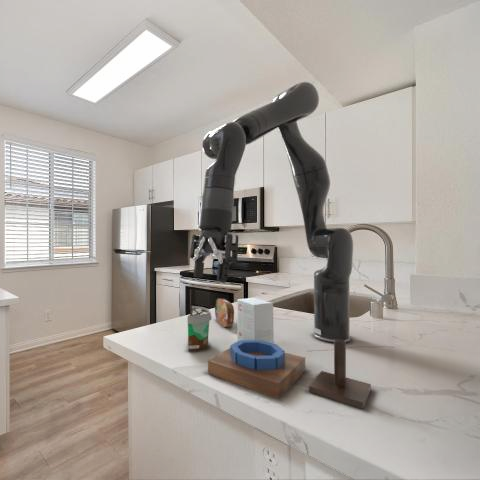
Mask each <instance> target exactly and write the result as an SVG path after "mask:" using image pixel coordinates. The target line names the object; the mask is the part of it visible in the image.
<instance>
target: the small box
mask: <svg viewBox="0 0 480 480" xmlns="http://www.w3.org/2000/svg"><path fill="white" fill-rule="evenodd" d="M236 304H237V305H236V306H237V307H236V308H237V309H236V310H237V311H236V312H237V314H236V315H237V317H236V318H237V323H236V324H237V325H236V327H237V329H236V330H237V331H236V332H237V342H238V341H241V340H257V341H259V340H260V341H264V342H269V343H273V344H275V343H274V337H275V336H274V334H275V333H274V302H271V301H268V300H263V299H261V298H257V297H249V298H248V297H247V298H237V299H236Z"/></svg>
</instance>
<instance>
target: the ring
mask: <svg viewBox="0 0 480 480" xmlns="http://www.w3.org/2000/svg"><path fill="white" fill-rule="evenodd" d="M229 348H230V356H231V358H232V359H233V361H234V362H235V363H237V364H238V365H241V366H244V367H247V368H250V369H254V370H255V369H257V370H276V369H279V368H280V367H281V366H282V365H283V364H284V363H285V353H286V351H285V350H284V349H283V348H282V347H280V346H279V345H278V344H276V343H274V344H273V343H269V342H264V341H260V340H259V341H257V340H241V341H238V340H237V341H236V342H234V343H232V344H231V345H230V347H229ZM244 352H260V353H263V354H267V355H271V356H255V355H251V354H247V353H244Z"/></svg>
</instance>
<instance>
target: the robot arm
mask: <svg viewBox="0 0 480 480" xmlns="http://www.w3.org/2000/svg"><path fill="white" fill-rule="evenodd" d="M319 103H320V96H319V92H318V90H317V88H316V87H315V85H314V84H313V83H311V82H309V81H301V82H299V83H296V84H294V85H292V86H291V87H288V88H287V89H285V90H284V91H282V92H280V93H278V94H276V95H275V96H274V98H273V100H272V102H269V103H267V104H265V105H263V106H262V105H261V106H260V107H258V108H255V109H253V110H251V111H249V112H247V113H244V114H243V115H241V116H239V117H237V118H236V119H233V121H230V122H227V123H225V124H222V125H221V126H220V125H219V127H217V128H214V129H212V130H210V131H208V132H207V133H206V134H205V136H204V137H203V138H202V139H203V140H202V143H201V146H202V151H203V153H204V155H205V156H206V157H208V158H210V159H212V160H214V162H213V163H211V164H210V165H209V166H208V167H207V168H206V170H205V174H204V182H203V189H202V196H201V200H200V208H199V218H198V228H199V230H201V232H200V234H192V237H191V243H190V251H189V259H192V260H193V261H194V267H193V277H194V278H199V279H201V278H203V277H204V269H205V260H206V258H207V257H208V256H210V255H211V254H213V255H214V256H215V257H216V258H217V261H218V264H217V274H216V281H217V282H219V283H226V282H227V280H228V278H229V271H230V265H231V264H234V263H235V264H236V263H237V262H238V253H239V235H238V234H233V233H229V232H231V230H232V224H233V214H234V204H235V195H234V193H235V185H236V175H237V173H238V170H239V167H240V164H241V162H242V158H243V156H244V153H245V149H246V146H247V145H250V144H252V143H254V142H257V140H259V139H261V138H263V137H265V136H266V135H268V134H270V133H272V132H273V131H274V130H276V129H277V130H278V133H279V134H280V137H281V140H282V143H283V146H284V149H285V152H286V156H287V159H288V162H289V167H290V171H291V176H292V179H293V183H294V186H295V187H294V188H295V190H296V194H297V197H298V201H299V205H300V209H301V213H302V219H303V225H304V231H305V239H306V243H307V247H308V249H309V252H310V254H311V255H312V256H313V257H315V258H320V259H327V261H326V265H325V266H324V267H323V268H320V269H317V270H315V271H314V273H313V294H314V295H313V318H314V320H313V321H314V322H313V324H314V325H313V337H314V338H316V339H318V340H320V341H324V342H327V343H332V344H334V339H343V340H345V341H346V343H349V342H350V341H351V336H350V321H351V320H350V311H351V310H350V277H351V274H352V270H353V257H354V240H353V236H352V233H351V232H350V231H349V230H348V229H347V228H345V227H327V225H326V220H325V216H324V208H325V204H326V201H327V198H328V195H329V192H330V188H331V179H330V173H329V171H328V166H327V162H326V160H325V158H324V157H323V155H322V154H321V153H320V152H319V151H317V149H315V148H314V147H313V146H311V145H310V144H309V143H308V142H307V141H306V140H305V139H304V137H303V135H302V133H301V131H300V128H299V126H298V121H300V120H302V119H304V118H307V117H309V116H311V115H312V114H313V113H314V112H315V111H316V110H317V109H318V106H319ZM195 252H196V253H195Z"/></svg>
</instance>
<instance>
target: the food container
mask: <svg viewBox="0 0 480 480" xmlns="http://www.w3.org/2000/svg"><path fill="white" fill-rule="evenodd" d="M210 321H212V313H211V311H210V309H209V308H206V307H203V306H197V305H191V311H190V313H189V315H187V345H188V347H187V348H188V349H187V350H188V352H190V353H191V352H192V353H193V352H200V351H204V350H206V349H207V348H208V346H209V334H210V333H209V332H210Z"/></svg>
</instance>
